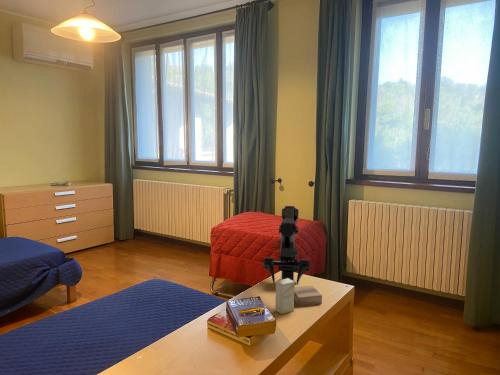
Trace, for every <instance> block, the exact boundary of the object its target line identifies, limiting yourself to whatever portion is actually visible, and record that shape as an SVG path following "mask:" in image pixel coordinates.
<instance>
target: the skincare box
mask: <svg viewBox="0 0 500 375" xmlns="http://www.w3.org/2000/svg"><path fill="white" fill-rule="evenodd" d="M295 282H296V281H295V280H294V281H293V280H291V279H289V278H286V279H282V280H279V279H278V280H276V281H275V306H274V307H275V308H274V309H275V311H276V312H278V313H279V314H281V315H284V314H287V313H291V312H294V311H295V301H294V287H295V285H296V284H295Z"/></svg>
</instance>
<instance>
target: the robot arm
mask: <svg viewBox="0 0 500 375" xmlns="http://www.w3.org/2000/svg"><path fill="white" fill-rule="evenodd" d="M299 211H300V210H299V209H297V208H296V206H294V205H285V206H284V208H282V209H281V219H282V220H281V223H280V224H279V225H278V226H279V227H278V234H280V249H279V251H280V252H279V258H278V260H274V257H272V256H271V257H267V256H265V257H264V258H263V262H262V263H263V269H265V270H266V271H267V272H268V271H269V274H270V275H271V276H270V277H271V280H272V283H273V284H276V281H275V278H276V277H275V269H274V267H278V271H279V272H281V278H279V279H278V280H282V279H286V278H289V279H291V280H293V281H295V279H294V278H295V275H294V274H295V273H297V275H296V276H297V277H296V281H295V285H296V286H298V285H299V282H300V279H301V278H302V276H303V274H306V273H307V272H310V268H311V267H310V266H311V261H310V260H309V259H307V258H300V259H299V261H298V259H297V258H296V257H297V256H298V247H297V246H295V237H296V235H297V234H298V233H299V227H298V225H297V224H298V220H299V213H300V212H299Z"/></svg>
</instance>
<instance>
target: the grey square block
mask: <svg viewBox="0 0 500 375" xmlns="http://www.w3.org/2000/svg"><path fill="white" fill-rule="evenodd" d="M294 303H295V304H296V305H298V307H303V306H313V305H322V304H323V295H322V293H320V292H319V291H318V290H317V289H316V288H315V287H314V286H313V285H306V286H305V285H304V286H296V287H295V286H294Z"/></svg>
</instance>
